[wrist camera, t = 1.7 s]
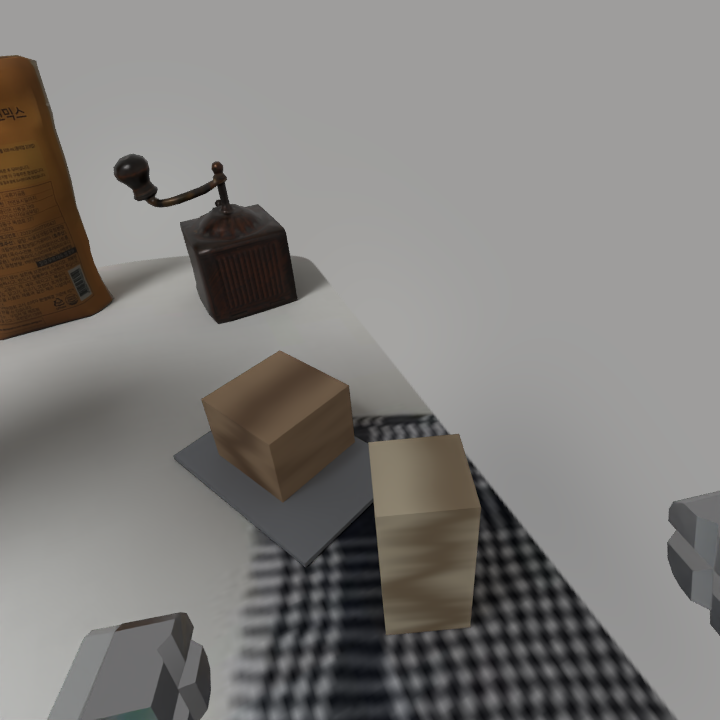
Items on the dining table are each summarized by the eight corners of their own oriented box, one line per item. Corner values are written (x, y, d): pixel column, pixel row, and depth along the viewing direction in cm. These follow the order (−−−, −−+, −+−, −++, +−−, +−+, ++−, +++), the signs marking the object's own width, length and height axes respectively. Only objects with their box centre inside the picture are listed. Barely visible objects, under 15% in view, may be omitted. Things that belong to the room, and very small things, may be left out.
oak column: (386, 635, 32) (375, 517, 25) (378, 560, 36) (368, 442, 29) (470, 627, 32) (480, 507, 25) (453, 553, 36) (459, 433, 29)
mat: (174, 459, 45) (173, 456, 45) (273, 392, 51) (273, 388, 51) (305, 567, 36) (304, 563, 35) (406, 469, 42) (406, 466, 42)
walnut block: (219, 454, 44) (201, 399, 41) (290, 404, 49) (279, 350, 45) (282, 502, 40) (269, 444, 36) (354, 441, 44) (348, 385, 41)
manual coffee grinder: (270, 267, 74) (244, 129, 63) (300, 300, 65) (275, 147, 55) (156, 299, 69) (106, 154, 58) (172, 339, 60) (118, 179, 50)
